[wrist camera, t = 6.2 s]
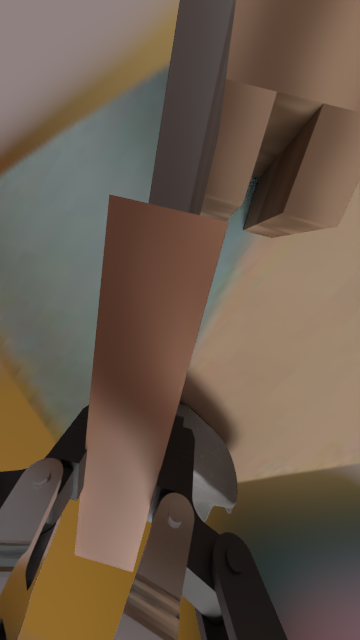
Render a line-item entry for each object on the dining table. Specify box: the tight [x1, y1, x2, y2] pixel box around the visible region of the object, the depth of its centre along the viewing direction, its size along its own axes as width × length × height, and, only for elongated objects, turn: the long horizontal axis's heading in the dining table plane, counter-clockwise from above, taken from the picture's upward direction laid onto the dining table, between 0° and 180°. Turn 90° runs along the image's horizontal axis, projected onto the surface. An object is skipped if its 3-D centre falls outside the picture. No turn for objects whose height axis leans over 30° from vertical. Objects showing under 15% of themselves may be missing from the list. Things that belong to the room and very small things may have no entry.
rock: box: [176, 404, 238, 522], centre depth 29 cm, size 18×11×8 cm, turn 41°
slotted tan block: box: [200, 0, 360, 238], centre depth 15 cm, size 9×9×11 cm
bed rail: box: [75, 0, 236, 572], centre depth 9 cm, size 3×20×5 cm, turn 168°
